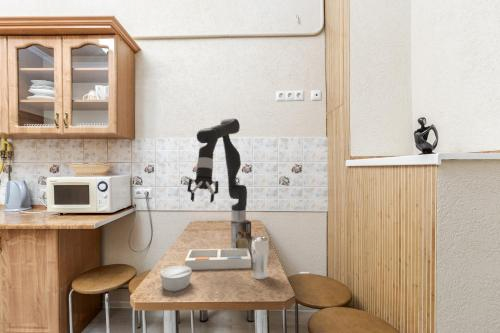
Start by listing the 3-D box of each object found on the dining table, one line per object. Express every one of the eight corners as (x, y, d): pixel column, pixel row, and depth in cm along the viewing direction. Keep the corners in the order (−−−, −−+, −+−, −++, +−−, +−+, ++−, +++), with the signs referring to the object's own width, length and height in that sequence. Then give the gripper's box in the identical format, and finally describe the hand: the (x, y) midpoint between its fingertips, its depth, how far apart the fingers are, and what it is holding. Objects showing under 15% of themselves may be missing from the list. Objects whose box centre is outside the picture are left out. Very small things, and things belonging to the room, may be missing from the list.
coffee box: (246, 249, 133) (246, 219, 134) (251, 252, 128) (251, 221, 128) (230, 251, 129) (230, 220, 129) (235, 255, 124) (235, 223, 124)
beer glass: (250, 273, 102) (250, 236, 103) (267, 272, 103) (267, 236, 103) (252, 280, 95) (252, 241, 96) (269, 279, 96) (270, 241, 96)
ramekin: (183, 294, 85) (183, 278, 85) (154, 291, 87) (154, 276, 87) (196, 280, 96) (196, 266, 96) (169, 277, 98) (169, 264, 98)
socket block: (190, 257, 119) (190, 249, 120) (248, 256, 122) (248, 247, 122) (184, 270, 105) (184, 259, 105) (250, 267, 108) (251, 258, 108)
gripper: (218, 171, 124) (215, 203, 121) (189, 168, 120) (185, 201, 117) (220, 168, 117) (218, 202, 114) (190, 165, 113) (186, 200, 110)
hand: (202, 202), depth 115 cm, fingers open, 8 cm apart
